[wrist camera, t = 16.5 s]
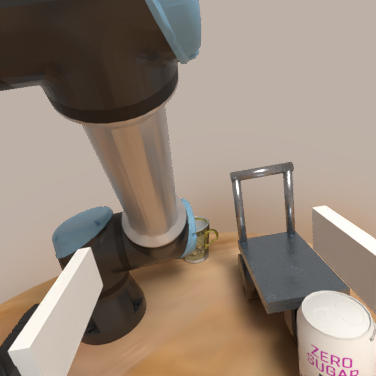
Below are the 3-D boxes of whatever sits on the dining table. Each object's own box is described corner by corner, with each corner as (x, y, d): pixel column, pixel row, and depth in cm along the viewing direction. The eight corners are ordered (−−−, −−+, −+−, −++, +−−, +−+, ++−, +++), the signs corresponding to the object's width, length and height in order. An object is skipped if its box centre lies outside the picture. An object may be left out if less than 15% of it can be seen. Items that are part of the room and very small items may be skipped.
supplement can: (351, 369, 38) (353, 284, 33) (388, 440, 30) (398, 341, 25) (293, 372, 39) (287, 289, 34) (314, 441, 31) (311, 346, 26)
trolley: (358, 360, 38) (364, 195, 30) (275, 374, 39) (260, 214, 31) (294, 270, 59) (287, 159, 51) (240, 280, 60) (226, 170, 51)
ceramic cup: (171, 263, 71) (164, 230, 68) (191, 244, 78) (185, 214, 75) (213, 273, 63) (206, 237, 60) (230, 252, 71) (225, 219, 68)
